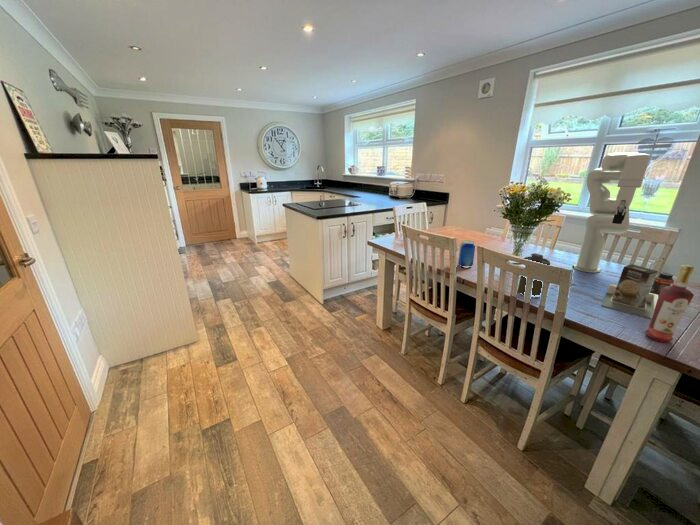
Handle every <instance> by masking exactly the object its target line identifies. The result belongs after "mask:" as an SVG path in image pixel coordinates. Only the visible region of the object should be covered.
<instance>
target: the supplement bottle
mask: <svg viewBox="0 0 700 525" xmlns="http://www.w3.org/2000/svg"><path fill="white" fill-rule="evenodd" d="M673 277H674V274H672V273H669V272H666V271H665V272H663V271H661V272H659V275H658V276H657V275H656V277H655V280H654V282H653V285H652V287H651V289H650V292H649V293H653V294H657V295H658V297H659V294H660V291H661V288H662V287H666V286H673V284H674V282H675V280H674V278H673Z"/></svg>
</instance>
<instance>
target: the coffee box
mask: <svg viewBox="0 0 700 525" xmlns="http://www.w3.org/2000/svg"><path fill="white" fill-rule="evenodd" d="M658 272H659V271H658V270H654V269H651V268H648V267H643V266H641V265H636V264H631V263H630V264H627V265H625V266H623V268H622V271H621V274H620V276H619V279H618V282H617V285H616V286H617V288H616V290H615V293H614V296H613V299H616V300H619V301H621V302H624V303H627V304H629V305H632V306H635V307H638V306H641V305H644V304H645V302H646V299H647V297H648V294H649V293H650V290H651V287H652V285H653V282H654V280H655V277H657V275H658Z"/></svg>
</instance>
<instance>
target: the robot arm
mask: <svg viewBox="0 0 700 525" xmlns="http://www.w3.org/2000/svg"><path fill="white" fill-rule="evenodd" d="M650 159H651V155H650V154H648V153H644V152H643V153H639V152H636V151H635V152H632V151H630V152H613V153H609V154H608V153H607V154H606V155H605V156H604V157H603V158H602V160H601V164H600V167H599V168H595V169H592V170H590V171H589V172H588V174H587V177H586V188H587V189H588V190H587V191H588V192H589V212H590V214H591V215H590V216H588V217H587V219H586V221H585V228H584V235H583V239H582V244H581V247H580V251H579V255H578V258H577V262H576V263H573V264H572V267H573V266H574V268H573V269H574V270H577V271H581V272H584V273H591V274H592V273H593V274H594V273H600V272H601V270H602V269H601V268H600V267H599V265H600V262H601V258H602V254H603V253H604V252H603V251H604V247H605V244H606V239H605V237H604V236H603V234H619V235H622V234H624V233H626V232H628V230H629V227H630V206H631V204H632V202H633V200H634V196H635V193H636V190H637V189H638V188H641V187H642V184H643V181H644V179H645V178H644V177H645V175H646V171H647V169H648V166H649V164H650ZM604 184H605V185H606V184H610V185H611V184H612V185H613V184H614V185H615V184H617V186H616V187H617V188H619V190H618V192H617V195H616V198H611V191H610V190H609V189H608V188H607V187H606V186H605V185H604Z"/></svg>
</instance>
